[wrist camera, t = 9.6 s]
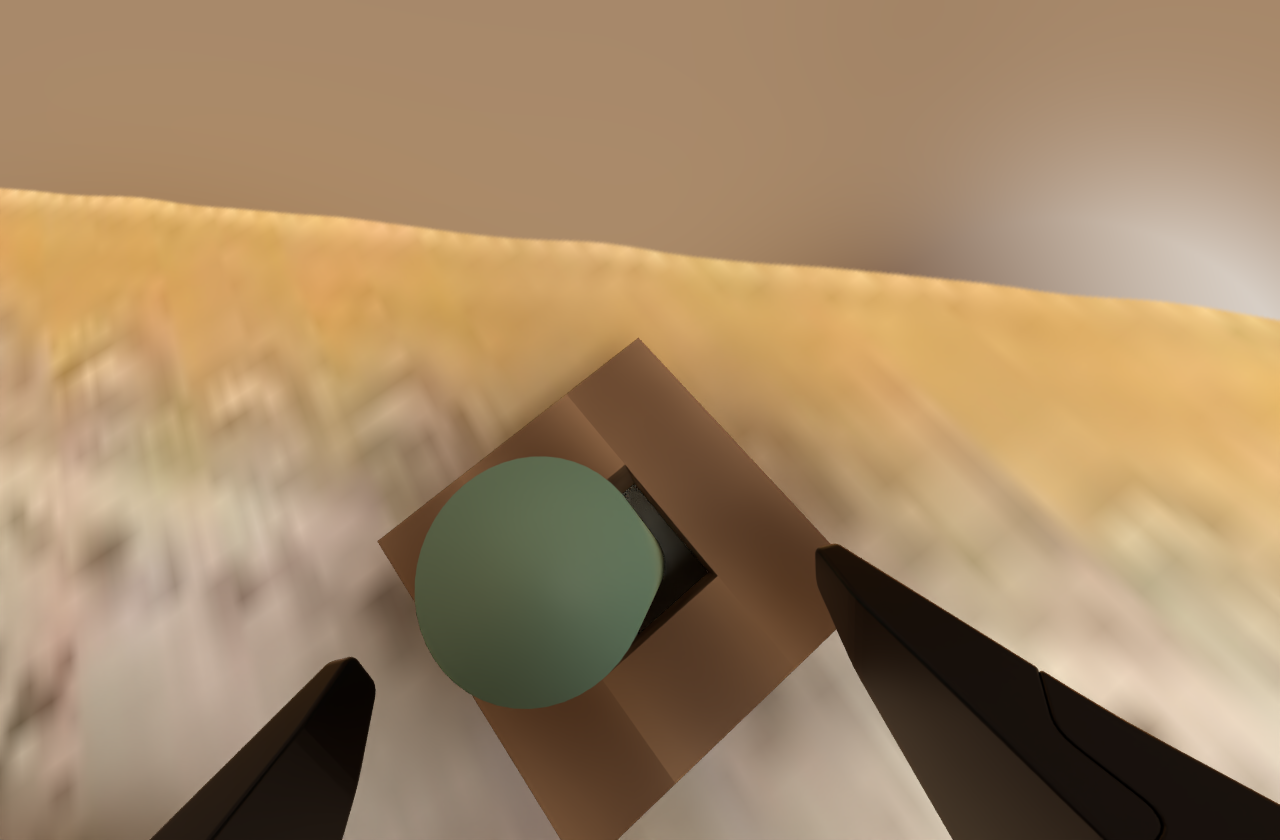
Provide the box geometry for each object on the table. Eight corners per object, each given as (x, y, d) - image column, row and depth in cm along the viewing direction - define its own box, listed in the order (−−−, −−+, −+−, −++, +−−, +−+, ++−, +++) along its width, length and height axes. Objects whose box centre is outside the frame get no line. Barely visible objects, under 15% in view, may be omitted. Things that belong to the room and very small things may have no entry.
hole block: (603, 799, 16) (581, 873, 12) (436, 545, 19) (377, 541, 15) (831, 584, 18) (875, 591, 14) (644, 379, 20) (638, 337, 17)
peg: (643, 619, 18) (578, 762, 5) (575, 582, 18) (368, 630, 6) (677, 546, 18) (690, 517, 6) (610, 512, 19) (493, 420, 6)
